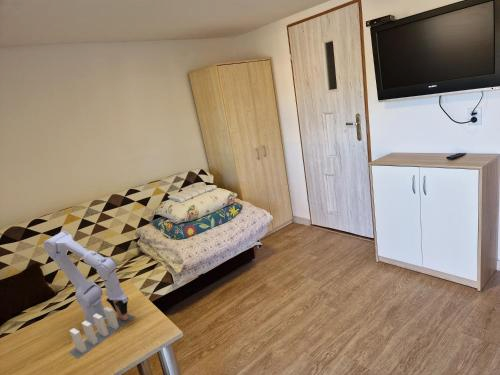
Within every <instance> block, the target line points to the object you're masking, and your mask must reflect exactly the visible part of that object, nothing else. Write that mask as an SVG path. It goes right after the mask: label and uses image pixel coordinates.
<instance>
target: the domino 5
mask: <svg viewBox="0 0 500 375" xmlns="http://www.w3.org/2000/svg"><path fill="white" fill-rule="evenodd" d="M118 301H119V300H113V303H114V306H115V308H116V311H117V312H116V311H115V312H116V314H117V318H121V319H123V320H126V319H127V318H128V316H127V314H128V312H127V313H126V314H125V315H122V314H121V312H120V310H119V308H118V307H117V306H116V305H115V303H116V302H118Z"/></svg>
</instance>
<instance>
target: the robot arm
mask: <svg viewBox="0 0 500 375" xmlns="http://www.w3.org/2000/svg"><path fill="white" fill-rule="evenodd" d="M43 250H44V251H45V252H46V254H47V255H48V256H49V257H50V258H51V259H52V260H53V261H54V263H55V264H56V265H57V267H58V268H59V269H60V270H61V271H62V272H63V274H64V275H65V276H66V278H67V279H68V280H69V281H70V282H71V284H72V285H73V287H74V288H75V289H76V291H75V295H74V298H75V299H76V301H77V303H78V306H80V308H82V311H83V314H84V316H85V317H84V318H85V319H84V321H87V322H89V323H91V324H92V327H96V324H95V321H94V319H93V315H95V314H96V313H97V314H99V315H101V316H103V319H104V321H105V320H107V318H106V315H105V313H104V310H103V309H104V308H105V307H104V305H103V301H102V298H103V297H102V296H103V293H105V296H106V297H107V298H106V302H107V303H108V304H110V306H111V307H112V309H113V310H114V312H115V313H117V311H116V308H115V306H114V303H113V300H119V301H118V302H116V303H115V305H116V306H117V307H118V308H119V310H120V312H121V314H122V315H125V314H126V313H127V314H128V302H129V297H128V296H127V295H125V292H126V291H125V289H122V287H121V284H120V281H119V277H118V274H117V271H116V268H117V266H118V264H117V262H116V260H115V259H114V258H112V257H107V256H105V257H104V256H103V255H101V254H100V253H98V252H97V251H95V250H87V249H86V248H85V247H84V246H83V245H81V244H80V243H78V242H77V241H75V240H74V238H73V234H70V233H69V232H67V231H65V230H62V231H60V232H58V233H57V234H55V235H54V236H51V237H50V238H47V239H45V240H44V241H43ZM68 251H69V252H71V253H72V254H75V255H76V256H79V257H80V258H83V263H85V264H87V265H88V266H90V267H92V268H94V270H96V273H97V274H98V275H99V277H100V278H101V280H102V281H103V284H104V286H105V289H106V290H105V292H103V289H102V287H100V286H99V285H97V283H95V281H89V280H87V278H86V277H85V276H84V274H83V273H82V272H81V270H80V269H79V268H78V267H77V265H75V263H74V261H73V260H71V258H70V257H69V256H68V254H67V253H68Z"/></svg>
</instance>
